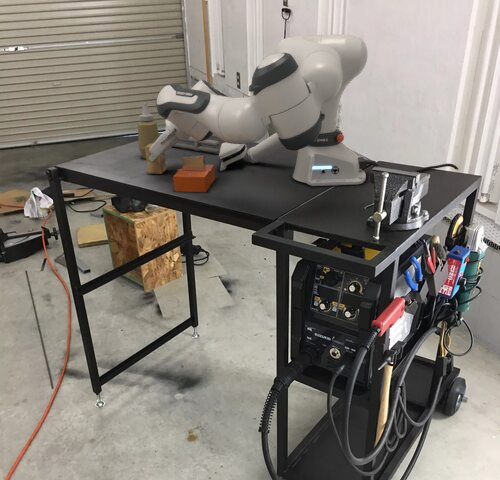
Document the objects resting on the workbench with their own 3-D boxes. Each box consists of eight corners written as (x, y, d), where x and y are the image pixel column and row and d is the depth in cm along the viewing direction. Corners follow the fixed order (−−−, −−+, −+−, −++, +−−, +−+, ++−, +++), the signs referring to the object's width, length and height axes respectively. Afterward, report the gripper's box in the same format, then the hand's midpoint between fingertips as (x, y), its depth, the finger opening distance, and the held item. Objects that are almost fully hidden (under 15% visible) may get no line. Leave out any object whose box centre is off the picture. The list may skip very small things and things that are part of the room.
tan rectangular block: (183, 170, 162) (181, 156, 159) (184, 169, 163) (183, 154, 161) (204, 171, 161) (203, 156, 158) (205, 169, 162) (204, 155, 160)
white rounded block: (220, 171, 176) (248, 159, 173) (214, 157, 173) (242, 145, 171) (223, 158, 190) (249, 147, 187) (217, 145, 187) (244, 133, 185)
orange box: (184, 178, 170) (182, 163, 168) (217, 179, 169) (216, 164, 166) (172, 191, 160) (171, 175, 157) (207, 192, 158) (206, 176, 155)
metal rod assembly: (164, 146, 206) (163, 133, 203) (169, 145, 208) (168, 131, 205) (216, 155, 193) (215, 141, 190) (221, 153, 194) (220, 139, 192)
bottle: (258, 158, 184) (315, 125, 167) (253, 166, 182) (310, 134, 164) (249, 146, 182) (305, 111, 165) (244, 155, 179) (300, 121, 162)
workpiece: (166, 169, 178) (163, 143, 174) (161, 173, 174) (158, 147, 170) (153, 169, 179) (149, 143, 174) (148, 173, 175) (144, 146, 171)
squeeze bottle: (163, 154, 196) (157, 101, 187) (161, 160, 190) (155, 105, 180) (141, 154, 196) (134, 102, 187) (138, 160, 189) (131, 106, 180)
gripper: (177, 141, 159) (150, 173, 166) (196, 126, 176) (170, 156, 183) (161, 125, 158) (134, 158, 165) (181, 112, 175) (156, 142, 182)
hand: (153, 157), depth 174 cm, fingers closed on workpiece, 4 cm apart
